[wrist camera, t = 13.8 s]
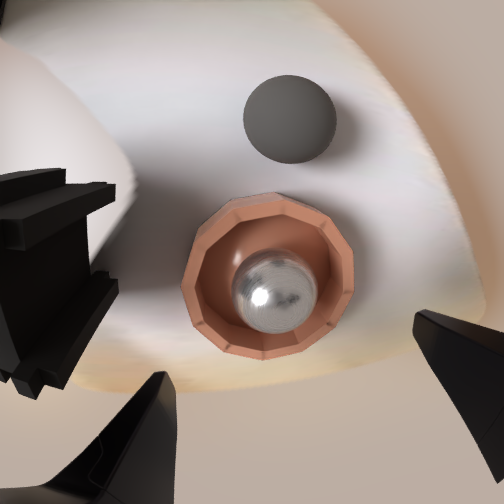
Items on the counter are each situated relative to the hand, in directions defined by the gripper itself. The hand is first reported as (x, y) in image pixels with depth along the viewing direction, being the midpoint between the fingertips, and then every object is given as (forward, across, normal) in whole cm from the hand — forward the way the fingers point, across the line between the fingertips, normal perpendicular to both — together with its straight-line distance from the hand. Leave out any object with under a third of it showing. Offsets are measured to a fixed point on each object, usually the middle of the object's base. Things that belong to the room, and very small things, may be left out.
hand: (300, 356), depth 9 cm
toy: (0, +7, -4) cm, 8 cm away
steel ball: (+5, 0, 0) cm, 5 cm away
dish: (+7, 0, 0) cm, 7 cm away
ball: (+5, -2, -8) cm, 9 cm away
